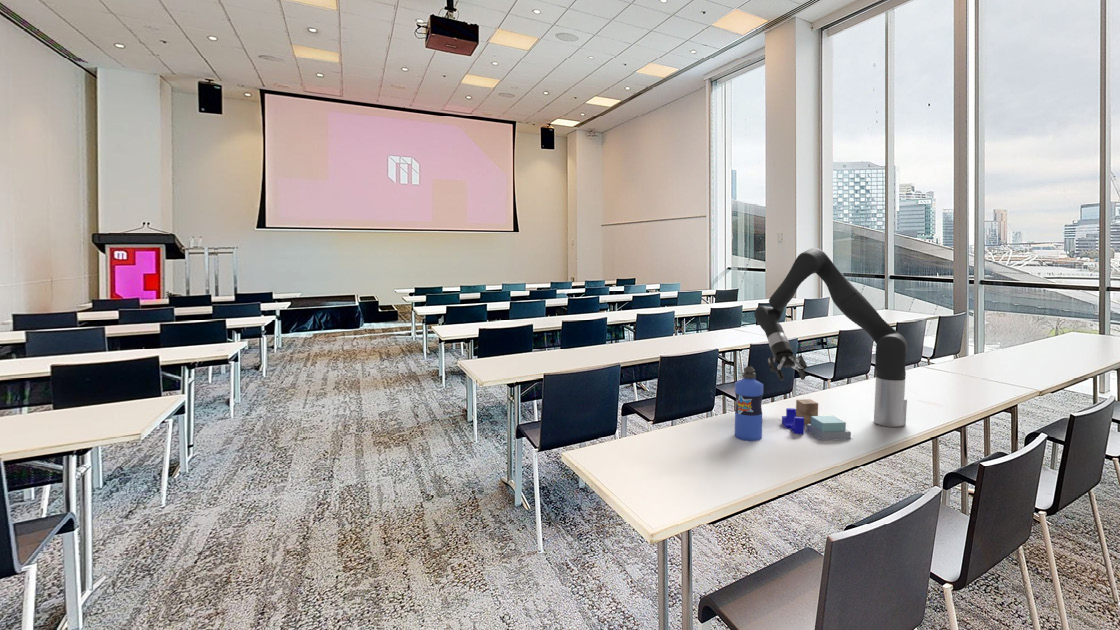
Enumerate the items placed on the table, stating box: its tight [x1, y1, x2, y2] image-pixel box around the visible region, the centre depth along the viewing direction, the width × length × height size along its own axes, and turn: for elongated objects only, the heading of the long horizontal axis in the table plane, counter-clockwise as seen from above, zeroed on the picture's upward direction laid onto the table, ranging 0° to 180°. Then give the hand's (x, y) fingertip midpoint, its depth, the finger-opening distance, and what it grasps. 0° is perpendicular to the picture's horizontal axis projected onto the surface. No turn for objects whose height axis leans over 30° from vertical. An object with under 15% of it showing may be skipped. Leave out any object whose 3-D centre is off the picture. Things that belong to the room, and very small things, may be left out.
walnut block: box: [795, 398, 819, 426], centre depth 199 cm, size 6×6×8 cm
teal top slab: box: [811, 415, 847, 432], centre depth 186 cm, size 8×8×3 cm
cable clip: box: [781, 407, 805, 435], centre depth 193 cm, size 12×4×6 cm, turn 171°
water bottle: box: [734, 365, 764, 442], centre depth 184 cm, size 9×9×25 cm
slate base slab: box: [806, 424, 852, 441], centre depth 186 cm, size 10×10×3 cm
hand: (793, 379), depth 209 cm, fingers open, 8 cm apart
